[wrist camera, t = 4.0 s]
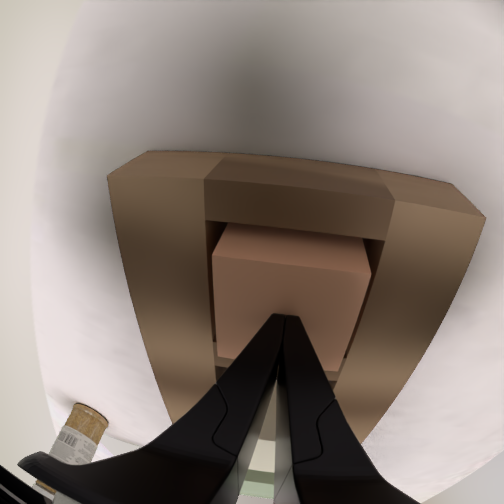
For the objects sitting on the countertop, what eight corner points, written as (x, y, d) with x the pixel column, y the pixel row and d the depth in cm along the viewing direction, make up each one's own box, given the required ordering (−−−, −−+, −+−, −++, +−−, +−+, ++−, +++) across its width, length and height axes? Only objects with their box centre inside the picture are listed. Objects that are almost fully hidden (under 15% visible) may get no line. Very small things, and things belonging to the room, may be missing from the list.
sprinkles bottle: (78, 412, 29) (35, 499, 18) (71, 396, 27) (21, 493, 16) (111, 429, 29) (72, 520, 18) (107, 415, 27) (61, 517, 16)
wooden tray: (335, 443, 22) (334, 474, 19) (194, 424, 23) (185, 453, 21) (451, 184, 10) (486, 218, 8) (147, 150, 12) (106, 175, 9)
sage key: (290, 464, 19) (285, 500, 16) (231, 456, 19) (222, 491, 17) (299, 444, 17) (295, 486, 14) (229, 434, 17) (219, 476, 15)
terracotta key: (335, 315, 13) (337, 371, 10) (234, 303, 14) (217, 356, 11) (358, 224, 11) (371, 273, 8) (234, 210, 11) (211, 255, 9)
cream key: (307, 427, 15) (302, 475, 13) (228, 417, 16) (216, 463, 13) (323, 386, 13) (321, 445, 10) (225, 373, 13) (209, 430, 11)
